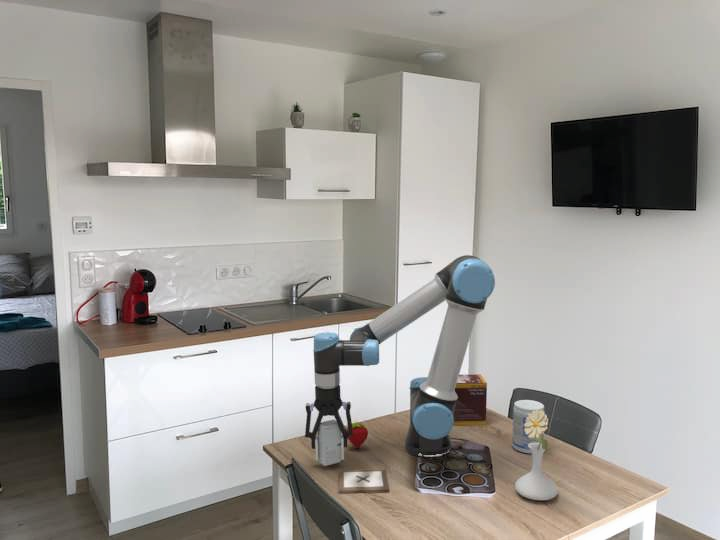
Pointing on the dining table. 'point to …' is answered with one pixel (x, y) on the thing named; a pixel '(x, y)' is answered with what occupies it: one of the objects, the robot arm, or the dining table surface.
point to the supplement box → (470, 400)
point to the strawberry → (358, 434)
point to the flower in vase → (536, 461)
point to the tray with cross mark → (363, 481)
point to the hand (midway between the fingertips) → (330, 457)
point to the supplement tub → (519, 419)
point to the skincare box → (329, 443)
